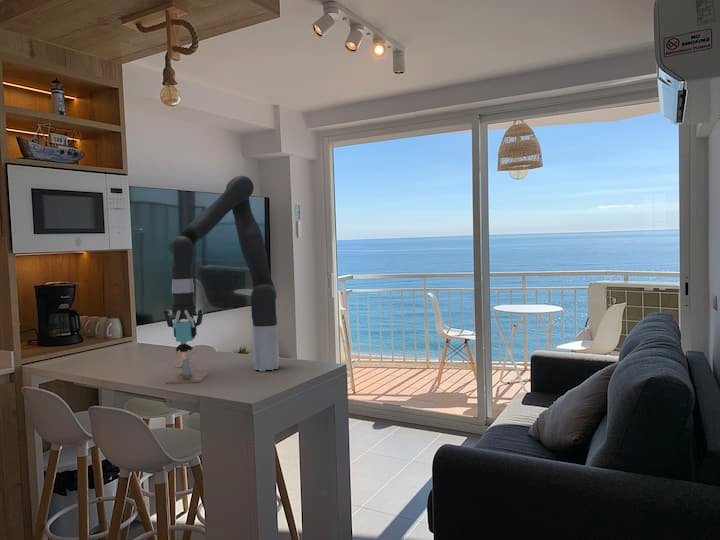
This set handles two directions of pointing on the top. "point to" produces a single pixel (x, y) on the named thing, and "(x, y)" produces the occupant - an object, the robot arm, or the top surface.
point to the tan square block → (187, 374)
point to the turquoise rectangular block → (183, 331)
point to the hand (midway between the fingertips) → (185, 337)
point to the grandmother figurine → (183, 352)
